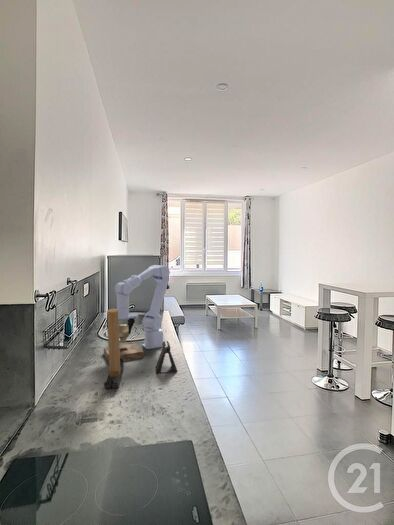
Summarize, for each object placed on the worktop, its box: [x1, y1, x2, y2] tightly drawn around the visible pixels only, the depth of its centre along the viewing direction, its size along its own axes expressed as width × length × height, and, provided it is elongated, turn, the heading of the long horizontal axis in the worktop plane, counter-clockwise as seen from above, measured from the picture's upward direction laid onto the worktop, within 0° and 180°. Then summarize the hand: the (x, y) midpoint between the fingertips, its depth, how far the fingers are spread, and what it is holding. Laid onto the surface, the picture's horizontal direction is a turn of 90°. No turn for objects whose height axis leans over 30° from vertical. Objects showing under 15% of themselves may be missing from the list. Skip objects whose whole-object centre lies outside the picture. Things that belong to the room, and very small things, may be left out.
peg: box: [119, 323, 130, 343], centre depth 147 cm, size 5×5×8 cm
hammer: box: [103, 308, 125, 389], centre depth 117 cm, size 20×5×30 cm, turn 7°
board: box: [103, 342, 145, 362], centre depth 148 cm, size 16×14×3 cm
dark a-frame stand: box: [155, 340, 178, 375], centre depth 130 cm, size 9×6×12 cm, turn 100°
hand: (123, 334), depth 147 cm, fingers closed on peg, 5 cm apart
